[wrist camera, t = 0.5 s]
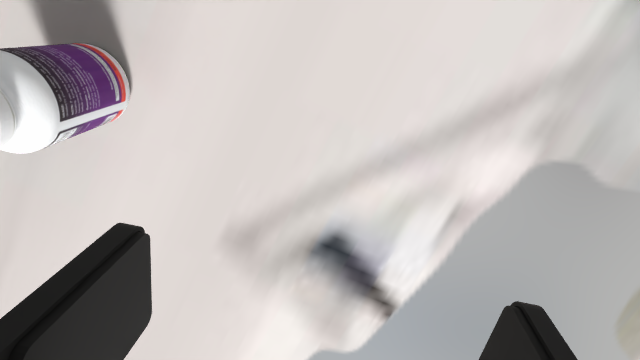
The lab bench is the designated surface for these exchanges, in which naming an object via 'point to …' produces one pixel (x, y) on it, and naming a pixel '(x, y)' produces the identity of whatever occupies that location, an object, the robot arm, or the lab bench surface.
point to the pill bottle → (57, 94)
